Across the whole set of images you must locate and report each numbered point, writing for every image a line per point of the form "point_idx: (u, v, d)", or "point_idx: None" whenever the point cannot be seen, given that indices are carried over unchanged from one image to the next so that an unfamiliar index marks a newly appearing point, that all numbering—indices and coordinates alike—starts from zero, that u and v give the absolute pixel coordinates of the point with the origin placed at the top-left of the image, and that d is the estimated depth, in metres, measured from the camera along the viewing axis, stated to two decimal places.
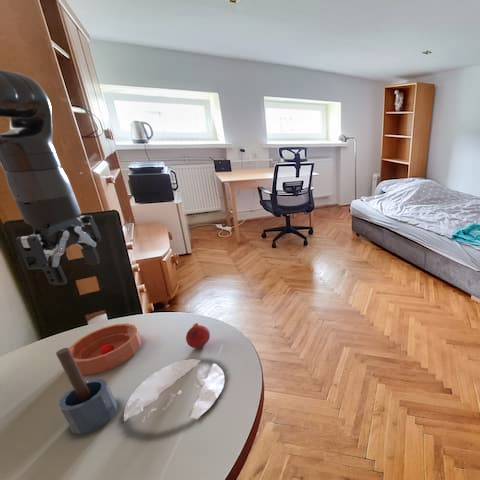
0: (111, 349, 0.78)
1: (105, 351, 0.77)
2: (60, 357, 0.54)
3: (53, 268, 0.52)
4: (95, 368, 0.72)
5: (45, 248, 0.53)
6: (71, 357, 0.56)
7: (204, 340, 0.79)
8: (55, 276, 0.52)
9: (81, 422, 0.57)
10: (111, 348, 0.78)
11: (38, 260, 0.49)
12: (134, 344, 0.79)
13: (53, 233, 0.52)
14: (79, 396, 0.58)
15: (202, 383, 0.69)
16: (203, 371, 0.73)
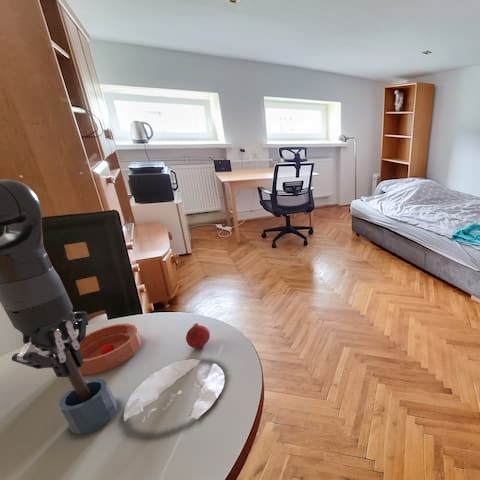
0: (111, 349, 0.78)
1: (105, 351, 0.77)
2: None
3: (61, 363, 0.54)
4: (95, 368, 0.72)
5: None
6: (71, 357, 0.56)
7: (204, 340, 0.79)
8: (62, 370, 0.54)
9: (81, 422, 0.57)
10: (111, 348, 0.78)
11: (45, 365, 0.51)
12: (134, 344, 0.79)
13: (44, 336, 0.50)
14: (79, 396, 0.58)
15: (202, 383, 0.69)
16: (203, 371, 0.73)
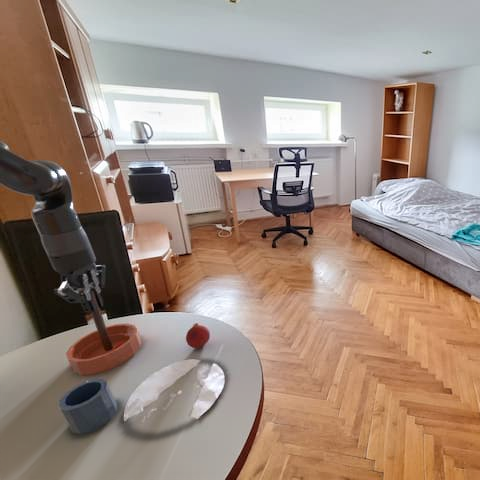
0: None
1: None
2: None
3: (87, 301, 0.71)
4: (95, 368, 0.72)
5: None
6: (95, 298, 0.73)
7: (204, 340, 0.79)
8: (88, 307, 0.71)
9: (81, 422, 0.57)
10: None
11: (77, 300, 0.68)
12: (134, 344, 0.79)
13: (75, 278, 0.67)
14: (98, 330, 0.75)
15: (202, 383, 0.69)
16: (203, 371, 0.73)
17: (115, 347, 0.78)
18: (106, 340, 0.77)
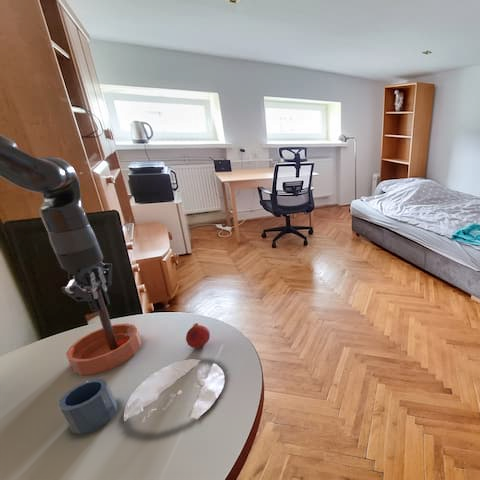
0: None
1: None
2: None
3: (94, 299, 0.70)
4: (95, 368, 0.72)
5: None
6: (102, 296, 0.72)
7: (204, 340, 0.79)
8: (95, 305, 0.71)
9: (81, 422, 0.57)
10: None
11: (84, 298, 0.67)
12: (134, 344, 0.79)
13: (83, 276, 0.67)
14: (104, 328, 0.75)
15: (202, 383, 0.69)
16: (203, 371, 0.73)
17: None
18: (111, 339, 0.76)
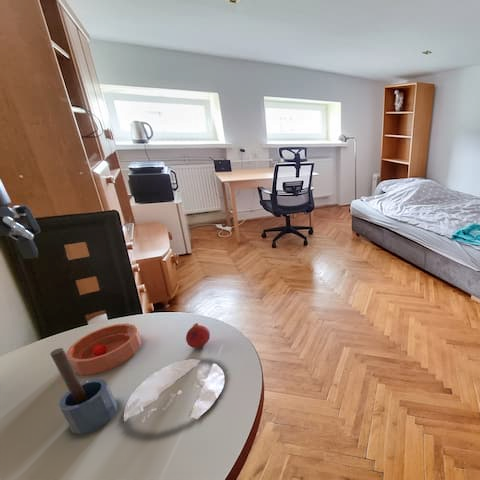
0: (99, 350, 0.77)
1: (99, 354, 0.77)
2: (54, 358, 0.54)
3: None
4: (95, 368, 0.72)
5: None
6: (65, 358, 0.56)
7: (204, 340, 0.79)
8: None
9: (81, 422, 0.57)
10: (98, 350, 0.77)
11: None
12: (134, 344, 0.79)
13: None
14: (74, 396, 0.58)
15: (202, 383, 0.69)
16: (203, 371, 0.73)
17: (106, 348, 0.79)
18: None
